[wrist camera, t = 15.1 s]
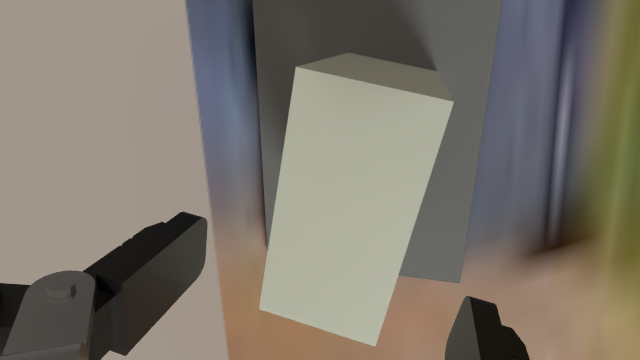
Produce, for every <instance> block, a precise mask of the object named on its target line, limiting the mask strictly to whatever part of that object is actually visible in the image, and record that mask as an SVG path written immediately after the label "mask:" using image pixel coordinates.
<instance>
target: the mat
mask: <svg viewBox="0 0 640 360" xmlns="http://www.w3.org/2000/svg"><path fill="white" fill-rule="evenodd" d="M502 1H503V0H253V15H254V32H255V49H256V66H257V82H258V99H259V116H260V133H261V150H262V166H263V183H264V200H265V217H266V233H267V250H268V247H269V240H270V234H271V227H272V221H273V214H274V207H275V201H276V194H277V188H278V181H279V174H280V168H281V161H282V155H283V148H284V141H285V135H286V128H287V122H288V115H289V108H290V102H291V95H292V89H293V82H294V75H295V69H296V67H297V66H301V65H304V64H308V63H312V62H316V61H319V60H323V59H327V58H331V57H334V56H338V55H342V54H346V53H353V54H357V55H362V56H367V57H372V58H376V59H381V60H386V61H391V62H395V63H400V64H405V65H410V66H414V67H419V68H424V69H429V70H433V71H437V72H438V74H439V76H440V77H441V79H442V81H443V83H444V85H445V86H446V88H447V90H448V92H449V94H450V95H451V97H452V99H453V101H454V103H453V107H452V110H451V113H450V116H449V119H448V122H447V125H446V128H445V131H444V135H443V138H442V141H441V144H440V147H439V150H438V153H437V156H436V159H435V163H434V166H433V169H432V172H431V175H430V178H429V181H428V184H427V187H426V191H425V194H424V197H423V200H422V203H421V206H420V209H419V212H418V215H417V219H416V222H415V225H414V228H413V231H412V234H411V237H410V240H409V243H408V247H407V250H406V253H405V256H404V259H403V262H402V265H401V268H400V271H399V275H400V276H408V277H416V278H423V279H431V280H439V281H446V282H454V283H460V278H461V271H462V265H463V258H464V251H465V245H466V238H467V232H468V225H469V218H470V212H471V205H472V199H473V192H474V185H475V179H476V172H477V166H478V159H479V152H480V146H481V139H482V133H483V126H484V119H485V113H486V106H487V100H488V93H489V87H490V80H491V73H492V67H493V60H494V54H495V47H496V40H497V34H498V27H499V21H500V14H501V7H502Z"/></svg>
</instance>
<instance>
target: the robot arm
mask: <svg viewBox="0 0 640 360" xmlns="http://www.w3.org/2000/svg"><path fill="white" fill-rule="evenodd" d="M206 239H207V220H206V219H205V218H203V217H200V216H196V215H193V214H189V213H186V212H181V213H179V214H178V215H176V216H175V217H174V218H172V219H171V220H170V221H168V222H167V223H164V222H161V223H158V224H155V225H152V226H149V227H146V228H144V229H143V230H141V231H140V232H139V233H137V234H136V235H134V236H133V238H132V239H129V240H127V241H126V242H124V243H123V244H122V246H119V247H117V248H116V249H114V250H113V251H111V252H110V253H108V254H107V255H106V256H104V257H103V258H101V259H100V260H98V261H97V262H96V263H94V264H93V265H91V266H90V267H88V268H87V269H85V270H84V271H83V272H81V271H62V272H57V273H53V274H50V275H47V276H45V277H42V278H41V279H39V280H37V281H36V282H34V283H33V284H32V285H20V284H4V283H0V360H101V358H102V357H103V356H104V355H105V354H106V353H107V352H108V351H109V350H111V351H113V352H116V353H119V354H122V355H124V356H126V355H127V354H128V353H129V352H130V350H131V349H132V348H133V347H134V346H135V345H136V344H137V342H139V341H140V340H141V339H142V337H143V336H144V335H145V334H146V333H147V332H148V331H149V330H150V329H151V327H153V325H155V323H156V322H157V321H158V320H159V319H160V318H161V317H162V316H163V315H164V314H165V313H166V312H167V310H168V309H169V308H170V307H171V306H172V305H173V304H174V303H175V302H176V301H177V300H178V298H179V297H180V296H181V295H182V294H183V293H184V292H185V291H186V290H187V289H188V288H189V287H190V286H191V285H192V283H193V282H194V281H195V280H196V279H197V278H198V277H199V275H200V273H201V271H202V269H203V267H204V263H205V256H206ZM445 360H530V359H529V356H528V353H527V350H526V347H525V344H524V343H523V342H522V341H521V339H520V338H519V337H518V335H517V334H516V333H515V331H514V330H513V329H512V328H510V327H506V326H503V325H501V321H500V317H499V314H498V310H497V307H496V305H495V304H494V303H490V302H487V301H484V300H480V299H477V298H473V297H470V296H466V297H465V298H464V300H463V302H462V305H461V307H460V310H459V312H458V315H457V317H456V320H455V322H454V325H453V327H452V329H451V332H450V334H449V337H448V340H447V345H446V351H445Z"/></svg>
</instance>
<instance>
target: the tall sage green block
mask: <svg viewBox="0 0 640 360" xmlns="http://www.w3.org/2000/svg"><path fill="white" fill-rule="evenodd" d="M453 103H454V101H453V99H452V97H451V95H450V94H449V92H448V90H447V88H446V86H445V85H444V83H443V81H442V79H441V77H440V76H439V74H438V72H437V71H433V70H429V69H424V68H419V67H414V66H410V65H405V64H400V63H395V62H391V61H386V60H381V59H376V58H372V57H367V56H362V55H357V54H353V53H346V54H342V55H338V56H334V57H331V58H327V59H323V60H319V61H316V62H312V63H308V64H304V65H301V66H297V67H296V69H295V75H294V82H293V89H292V95H291V102H290V108H289V115H288V122H287V128H286V135H285V141H284V148H283V155H282V161H281V168H280V174H279V181H278V188H277V194H276V201H275V207H274V214H273V221H272V227H271V234H270V240H269V247H268V254H267V260H266V267H265V273H264V280H263V287H262V293H261V300H260V306H259V309H260V310H263V311H267V312H270V313H273V314H276V315H279V316H282V317H285V318H288V319H291V320H294V321H297V322H301V323H304V324H307V325H310V326H313V327H316V328H319V329H322V330H325V331H328V332H331V333H335V334H338V335H341V336H344V337H347V338H350V339H353V340H356V341H359V342H362V343H365V344H369V345H372V346H376V343H377V340H378V337H379V334H380V331H381V327H382V324H383V321H384V318H385V315H386V312H387V309H388V306H389V303H390V299H391V296H392V293H393V290H394V287H395V284H396V281H397V278H398V275H399V271H400V268H401V265H402V262H403V259H404V256H405V253H406V250H407V247H408V243H409V240H410V237H411V234H412V231H413V228H414V225H415V222H416V219H417V215H418V212H419V209H420V206H421V203H422V200H423V197H424V194H425V191H426V187H427V184H428V181H429V178H430V175H431V172H432V169H433V166H434V163H435V159H436V156H437V153H438V150H439V147H440V144H441V141H442V138H443V135H444V131H445V128H446V125H447V122H448V119H449V116H450V113H451V110H452V107H453Z"/></svg>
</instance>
